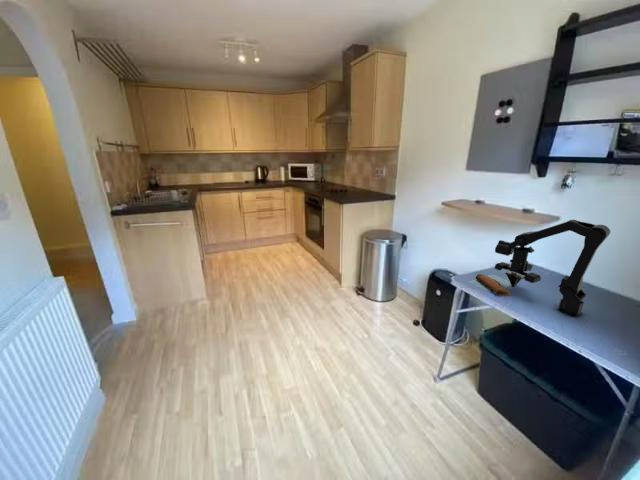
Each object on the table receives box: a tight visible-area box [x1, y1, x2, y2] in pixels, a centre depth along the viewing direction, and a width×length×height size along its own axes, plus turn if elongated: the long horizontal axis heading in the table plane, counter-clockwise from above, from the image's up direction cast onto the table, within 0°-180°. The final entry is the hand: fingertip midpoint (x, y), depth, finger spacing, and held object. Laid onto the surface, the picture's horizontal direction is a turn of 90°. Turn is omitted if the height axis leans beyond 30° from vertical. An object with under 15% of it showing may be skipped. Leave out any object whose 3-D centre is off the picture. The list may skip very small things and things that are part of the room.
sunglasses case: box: [475, 273, 512, 297], centre depth 141 cm, size 18×7×7 cm
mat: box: [467, 273, 512, 293], centre depth 147 cm, size 13×20×1 cm, turn 113°
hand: (513, 287), depth 136 cm, fingers closed
